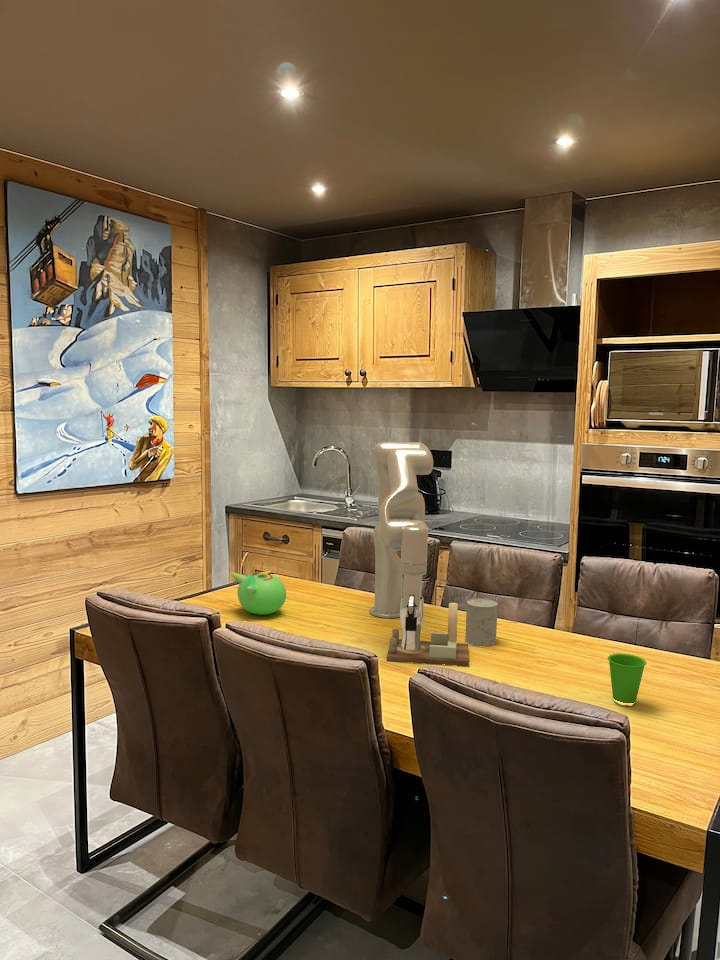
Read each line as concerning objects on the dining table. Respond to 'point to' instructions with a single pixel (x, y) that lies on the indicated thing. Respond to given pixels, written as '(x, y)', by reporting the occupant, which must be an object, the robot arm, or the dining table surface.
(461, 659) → the board
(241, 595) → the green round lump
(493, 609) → the grey stone cylinder
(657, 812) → the dining table surface
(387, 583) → the robot arm
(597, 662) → the dining table surface
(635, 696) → the cup
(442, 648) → the grey angular piece
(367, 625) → the dining table surface
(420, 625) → the beer glass
